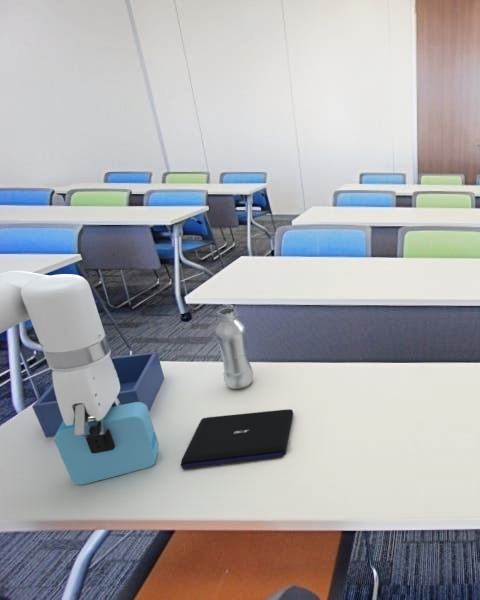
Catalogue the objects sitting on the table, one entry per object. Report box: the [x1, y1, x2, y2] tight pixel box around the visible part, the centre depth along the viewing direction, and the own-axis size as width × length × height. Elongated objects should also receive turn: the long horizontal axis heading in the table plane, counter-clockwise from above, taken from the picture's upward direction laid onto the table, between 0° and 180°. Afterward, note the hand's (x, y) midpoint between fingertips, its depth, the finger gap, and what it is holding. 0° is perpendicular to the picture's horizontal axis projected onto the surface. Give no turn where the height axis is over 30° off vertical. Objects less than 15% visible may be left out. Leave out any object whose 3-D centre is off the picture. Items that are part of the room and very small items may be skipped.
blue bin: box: [32, 351, 165, 438], centre depth 88 cm, size 17×17×8 cm
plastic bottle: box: [214, 307, 254, 390], centre depth 95 cm, size 6×7×20 cm
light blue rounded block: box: [53, 402, 159, 485], centre depth 71 cm, size 12×4×12 cm, turn 117°
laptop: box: [180, 408, 294, 470], centre depth 81 cm, size 16×20×2 cm
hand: (109, 438), depth 71 cm, fingers closed on light blue rounded block, 4 cm apart
